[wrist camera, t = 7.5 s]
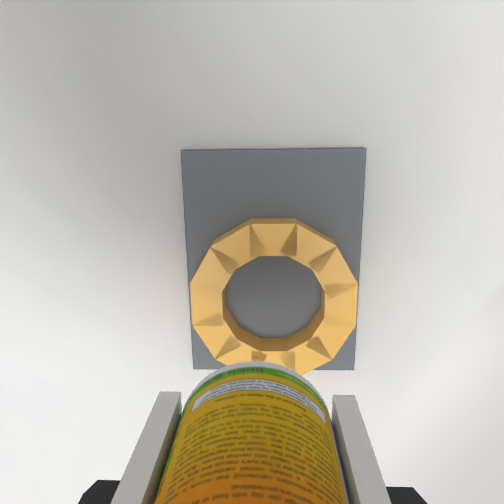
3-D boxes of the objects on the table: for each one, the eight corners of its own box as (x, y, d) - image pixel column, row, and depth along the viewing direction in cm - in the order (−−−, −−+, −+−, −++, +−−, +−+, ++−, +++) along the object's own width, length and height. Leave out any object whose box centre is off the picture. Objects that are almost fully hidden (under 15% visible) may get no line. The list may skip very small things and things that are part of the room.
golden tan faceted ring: (199, 363, 31) (195, 378, 30) (191, 218, 29) (186, 224, 27) (347, 364, 31) (353, 379, 29) (355, 217, 28) (361, 223, 26)
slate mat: (194, 365, 32) (193, 369, 32) (182, 150, 28) (180, 150, 27) (352, 366, 32) (353, 370, 31) (364, 147, 27) (366, 148, 27)
